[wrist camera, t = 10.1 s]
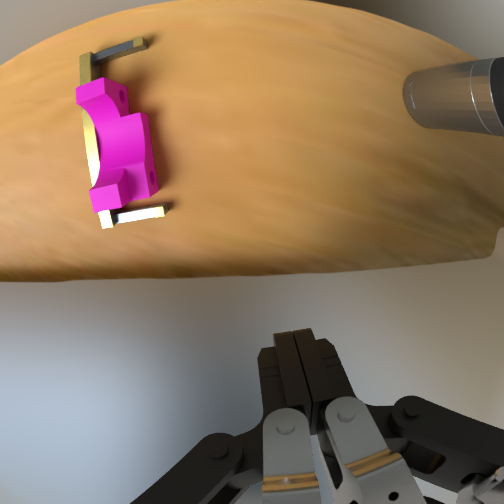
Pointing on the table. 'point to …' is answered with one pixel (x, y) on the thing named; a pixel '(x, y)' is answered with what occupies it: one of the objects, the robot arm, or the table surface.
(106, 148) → the toy block
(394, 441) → the robot arm
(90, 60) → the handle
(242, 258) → the table surface
